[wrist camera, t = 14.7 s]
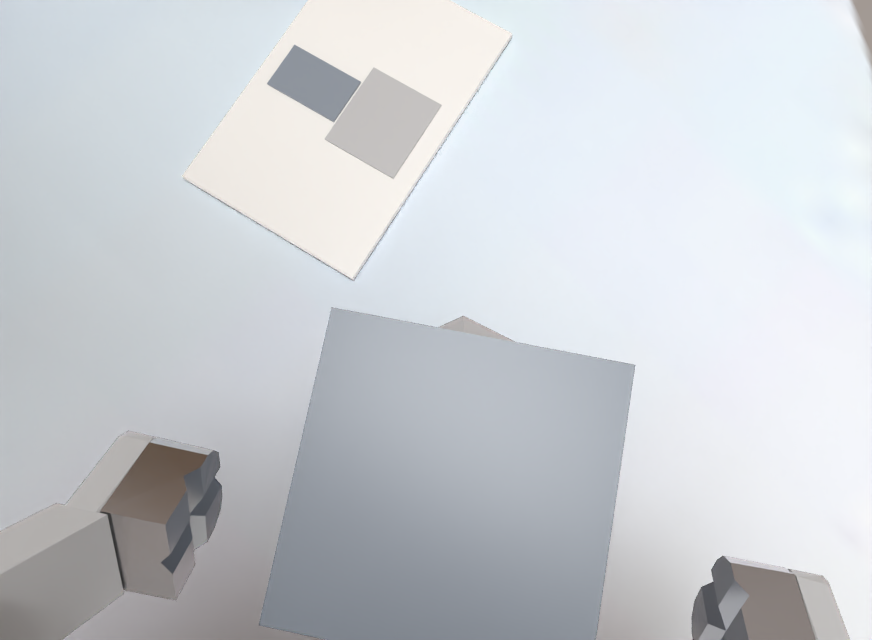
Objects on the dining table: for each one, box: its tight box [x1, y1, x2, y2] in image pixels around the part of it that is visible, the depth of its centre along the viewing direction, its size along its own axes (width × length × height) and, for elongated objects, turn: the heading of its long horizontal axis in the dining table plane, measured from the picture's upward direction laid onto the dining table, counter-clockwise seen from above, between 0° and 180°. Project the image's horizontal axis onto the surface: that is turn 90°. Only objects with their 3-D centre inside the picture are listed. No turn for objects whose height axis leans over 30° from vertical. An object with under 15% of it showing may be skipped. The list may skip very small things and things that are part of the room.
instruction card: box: [182, 0, 512, 281], centre depth 28 cm, size 12×8×1 cm, turn 148°
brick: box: [259, 307, 635, 640], centre depth 14 cm, size 5×5×8 cm
